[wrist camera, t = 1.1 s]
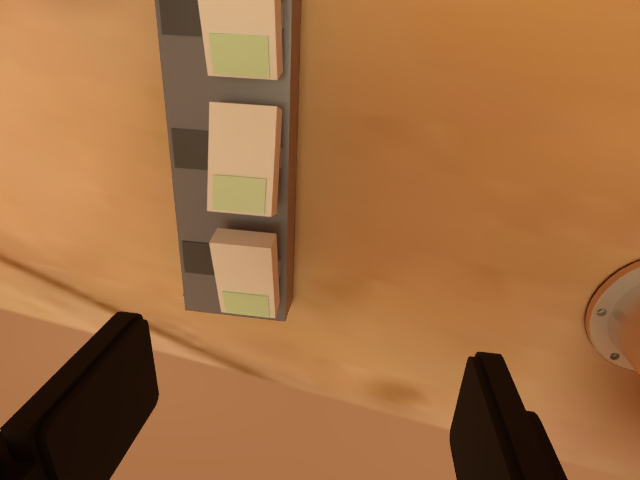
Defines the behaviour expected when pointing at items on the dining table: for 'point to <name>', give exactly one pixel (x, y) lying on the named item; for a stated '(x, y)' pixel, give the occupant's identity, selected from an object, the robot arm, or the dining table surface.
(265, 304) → the rocker
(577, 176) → the dining table surface
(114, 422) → the robot arm
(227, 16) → the rocker
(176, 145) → the power strip
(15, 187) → the dining table surface
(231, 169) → the rocker middle
